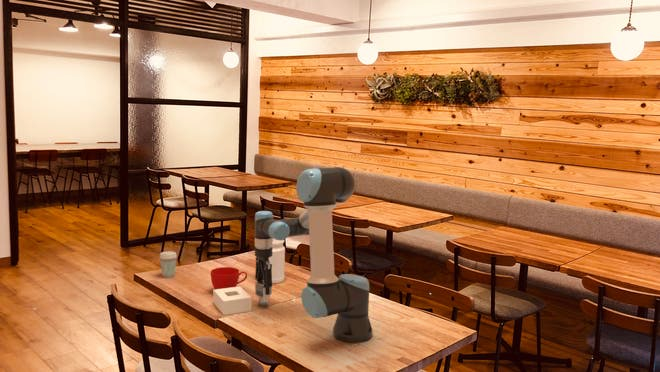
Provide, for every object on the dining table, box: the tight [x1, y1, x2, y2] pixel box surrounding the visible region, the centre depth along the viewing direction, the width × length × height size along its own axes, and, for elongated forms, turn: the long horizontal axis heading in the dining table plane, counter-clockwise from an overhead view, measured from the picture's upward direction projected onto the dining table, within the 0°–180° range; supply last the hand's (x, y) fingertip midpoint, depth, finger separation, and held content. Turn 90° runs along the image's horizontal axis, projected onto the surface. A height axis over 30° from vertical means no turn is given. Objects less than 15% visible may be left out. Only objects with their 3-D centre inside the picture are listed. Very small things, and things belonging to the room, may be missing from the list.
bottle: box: [264, 238, 286, 285], centre depth 286 cm, size 14×14×28 cm
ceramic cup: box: [210, 266, 248, 290], centre depth 268 cm, size 13×17×10 cm
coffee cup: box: [158, 251, 178, 279], centre depth 289 cm, size 8×8×12 cm
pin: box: [254, 281, 273, 308], centre depth 251 cm, size 7×7×10 cm
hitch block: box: [212, 286, 252, 316], centre depth 248 cm, size 16×12×6 cm
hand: (263, 298), depth 251 cm, fingers closed on pin, 7 cm apart
